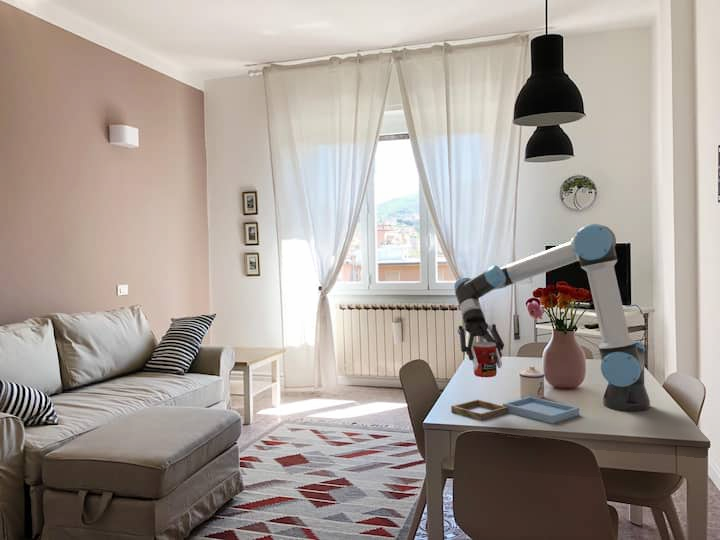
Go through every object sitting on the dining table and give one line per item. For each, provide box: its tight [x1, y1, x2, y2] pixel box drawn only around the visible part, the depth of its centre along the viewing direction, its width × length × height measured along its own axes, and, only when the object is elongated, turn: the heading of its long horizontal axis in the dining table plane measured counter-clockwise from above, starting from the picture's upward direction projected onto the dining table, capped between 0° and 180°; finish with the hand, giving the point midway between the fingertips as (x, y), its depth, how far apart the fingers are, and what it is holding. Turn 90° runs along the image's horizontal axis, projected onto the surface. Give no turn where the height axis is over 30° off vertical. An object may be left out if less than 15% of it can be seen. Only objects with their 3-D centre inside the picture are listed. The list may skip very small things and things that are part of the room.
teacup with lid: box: [519, 365, 545, 399], centre depth 224 cm, size 12×9×12 cm
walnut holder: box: [450, 399, 509, 421], centre depth 204 cm, size 14×14×2 cm
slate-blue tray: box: [502, 397, 580, 424], centre depth 202 cm, size 20×15×2 cm
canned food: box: [472, 341, 498, 378], centre depth 203 cm, size 8×8×11 cm
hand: (488, 366), depth 200 cm, fingers closed on canned food, 8 cm apart
